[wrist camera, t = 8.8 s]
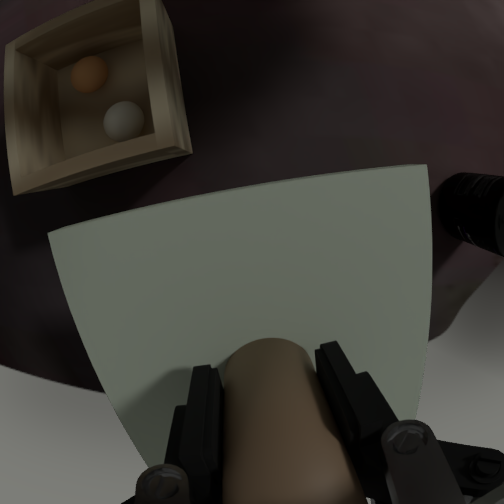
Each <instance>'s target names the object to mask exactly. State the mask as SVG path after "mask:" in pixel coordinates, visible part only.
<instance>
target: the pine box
mask: <svg viewBox="0 0 504 504" xmlns="http://www.w3.org/2000/svg"><path fill="white" fill-rule="evenodd" d="M87 56H97V57H100V58H101V59H103V60H104V61H105V63H106V64H107V67H108V77H107V80H106V82H105V83H104V85H103V86H102V87H101V88H99V89H98V90H96V91H94V92H91V93H82V92H79V91H77V90H76V89H75V88H74V87H73V85H72V83H71V71H72V69H73V67H74V65H75V64H76V63H77V62H78V61H79V60H81V59H82V58H84V57H87ZM122 101H129V102H133V103H135V104H136V105H138V106H139V107H140V108H141V110H142V112H143V114H144V125H143V128H142V130H141V132H140V133H139V135H138V136H136V137H135V138H134V139H131V140H127V141H124V142H118V141H115V140H113V139H111V138H110V137H109V136H108V135H107V134H106V132H105V130H104V125H103V121H104V117H105V114H106V112H107V111H108V109H109V108H110V107H111V106H113V105H114V104H116V103H118V102H122ZM4 114H5V131H6V144H7V153H8V162H9V170H10V177H11V183H12V189H13V195H14V196H16V195H21V194H27V193H33V192H38V191H45V190H51V189H57V188H64V187H68V186H71V185H74V184H78V183H81V182H84V181H87V180H91V179H94V178H97V177H101V176H104V175H108V174H111V173H115V172H118V171H122V170H126V169H129V168H133V167H137V166H141V165H145V164H149V163H153V162H157V161H161V160H166V159H170V158H174V157H179V156H183V155H188V154H193V152H192V146H191V140H190V135H189V129H188V123H187V117H186V111H185V105H184V98H183V92H182V86H181V79H180V72H179V66H178V59H177V52H176V45H175V38H174V30H173V26H172V23H171V21H170V19H169V16H168V14H167V12H166V9H165V7H164V5H163V2H162V0H94V1H92V2H89V3H87V4H85V5H82V6H80V7H77V8H75V9H73V10H71V11H68V12H66V13H64V14H62V15H60V16H58V17H56V18H54V19H52V20H50V21H48V22H46V23H44V24H42V25H40V26H38V27H36V28H34V29H33V30H31V31H29V32H27V33H26V34H24V35H22V36H20V37H19V38H17V39H15V40H14V41H12V42H10V43H9V44H7V45H6V49H5V66H4Z"/></svg>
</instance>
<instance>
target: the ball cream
mask: <svg viewBox="0 0 504 504" xmlns="http://www.w3.org/2000/svg"><path fill="white" fill-rule="evenodd" d="M103 125H104V130H105V132H106V134H107V135H108V136H109V137H110V138H111V139H113V140H115V141H118V142H124V141H127V140H131V139H134V138H135V137H136V136H138V135H139V133H140V132H141V130H142V128H143V125H144V114H143V112H142V110H141V108H140V107H139V106H138V105H136V104H135V103H133V102H129V101H122V102H118V103H116V104H114V105H113V106H111V107H110V108H109V109H108V111H107V112H106V114H105V117H104V121H103Z"/></svg>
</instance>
